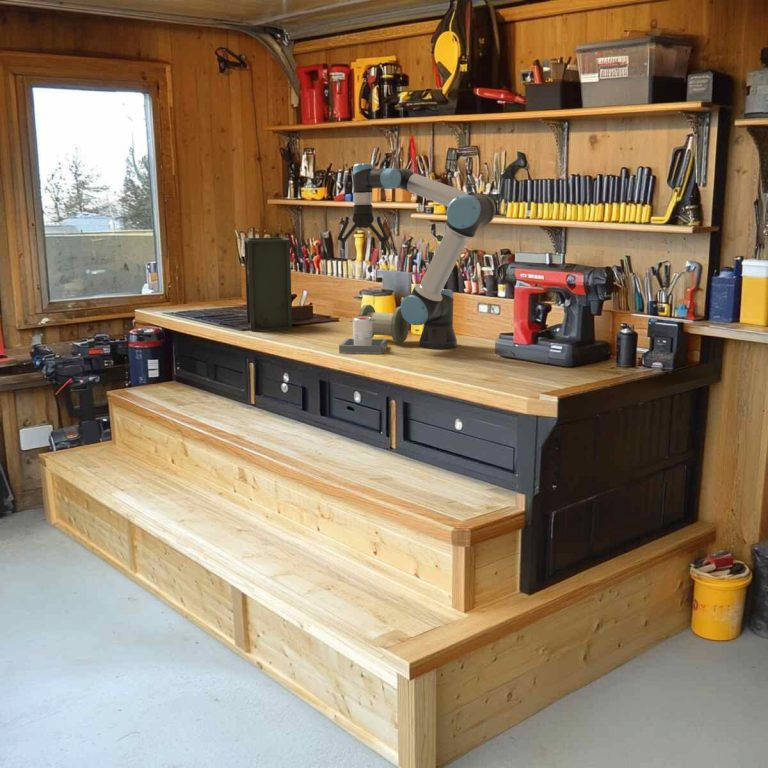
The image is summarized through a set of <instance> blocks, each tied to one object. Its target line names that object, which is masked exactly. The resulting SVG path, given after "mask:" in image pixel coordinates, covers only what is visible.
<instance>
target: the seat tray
mask: <svg viewBox="0 0 768 768" xmlns="http://www.w3.org/2000/svg"><path fill="white" fill-rule="evenodd" d="M338 347H339V348H338V353H339V354H365V355H368V354H369V355H371V354H372V355H382V354H383V353H384V351H385V350H386V348H387V347H388V341H387V338H372V345H354V338H346V339H344V340H342V342H341V343H340V344H339V345H338Z"/></svg>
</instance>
